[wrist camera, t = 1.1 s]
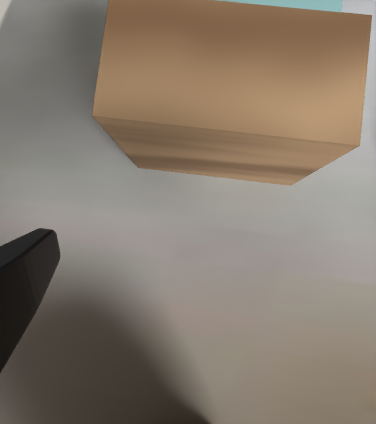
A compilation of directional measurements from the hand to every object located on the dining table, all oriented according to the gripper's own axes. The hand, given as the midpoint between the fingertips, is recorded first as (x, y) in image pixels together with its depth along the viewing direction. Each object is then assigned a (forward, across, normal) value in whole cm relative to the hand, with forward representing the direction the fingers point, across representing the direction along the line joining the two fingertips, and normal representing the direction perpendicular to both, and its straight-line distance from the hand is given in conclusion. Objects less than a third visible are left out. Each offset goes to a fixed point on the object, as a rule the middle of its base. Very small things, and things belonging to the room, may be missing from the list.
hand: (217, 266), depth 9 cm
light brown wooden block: (+15, +1, +2) cm, 15 cm away
